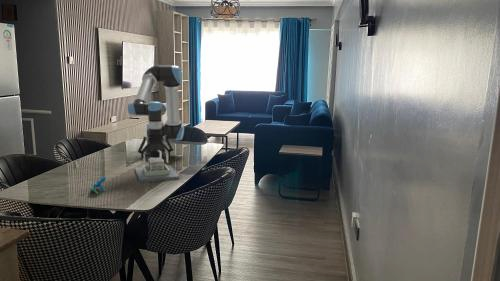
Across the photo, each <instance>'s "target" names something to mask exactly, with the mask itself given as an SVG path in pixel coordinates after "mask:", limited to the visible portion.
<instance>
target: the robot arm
mask: <svg viewBox="0 0 500 281" xmlns="http://www.w3.org/2000/svg"><path fill="white" fill-rule="evenodd" d="M157 83H160V84H161V83H162V86H163V87H164V89H165V103H166V104H164V103H162V102H160V101H149V99H150V97H151V94H152V91H153V88H154V86H155V85H156V84H157ZM182 83H183V73H182V69H181V67H180V66H178V65H172V64H171V65H166V64H164V65H160V64H156V65H153V66H150V68H148V69H146V71H145V72H144V73H143V74H142V77H141V84H140V86H139V89H138V90H137V91H138V92H137V94H136V97H135V99H134V102H129V103H128V104H127V113H128V115H131V116H147V117H148V119H147V120H148V123H147V125H146V136H143V138H142V141H141V143H140V145H139V147H138V150H137V153H139V154H140V159H141V160H142V164H143V166H145V165H146V156H150V152H151V151H153V150H160V151H161V152H162V156H164V155H165V157H166V158H165V160H166V161H165V162H166V164H169V158H170V157H171V152H173V151H174V148H173V147H172V145H171V143H170V141H182V140H183V137H184V135H185V125H184V123H183V122H182V120H181V119H180V104H179V87H180V86H181V84H182ZM165 114H166V121H165V123H164V122H163V120H162V118H163V117H162V116H164V115H165ZM164 141H165V142H166V144H167V145H166V144H164ZM145 143H146V145H145ZM167 146H168V147H167Z"/></svg>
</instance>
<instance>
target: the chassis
mask: <svg viewBox="0 0 500 281" xmlns="http://www.w3.org/2000/svg"><path fill="white" fill-rule="evenodd" d="M134 171H135V174H136V176H137V179H138V181H139V183H147V182H148V183H149V182H157V181H171V180H179V179H180V176H179V174H178V173H177V172H176V171H175V169H174V167H173V166H172V165H170V164H167V163H164V170H157V171H149V164H147V165H146V164H145V165H142V166H139V167H138V166H137V167H134Z"/></svg>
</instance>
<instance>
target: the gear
mask: <svg viewBox="0 0 500 281" xmlns="http://www.w3.org/2000/svg"><path fill="white" fill-rule="evenodd" d="M106 180H107V176H104V177H102V178H100V179H99V180H98V181H96V182H95V183H94V184H93V186H90V187H89V191H90V192H95V194H97V195H99V192H98V191H97V190H98V189H101V190H102V191H103V192H105V191H106V189H105V188H104V187H103V186H102V184H103V182H105V181H106Z"/></svg>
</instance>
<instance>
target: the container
mask: <svg viewBox="0 0 500 281" xmlns="http://www.w3.org/2000/svg"><path fill="white" fill-rule="evenodd" d="M162 157H163V155H162V152H161V151H160V150H153V151H151V152H150V158H148V160H147V161H148V162H147V163H148V165H149V171H157V170H164V164H165V160H164V159H163V158H162Z"/></svg>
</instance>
